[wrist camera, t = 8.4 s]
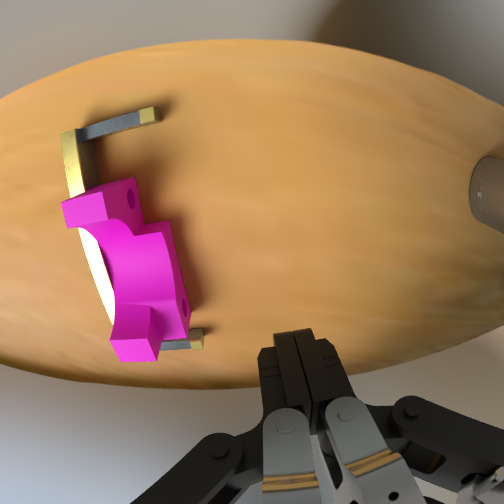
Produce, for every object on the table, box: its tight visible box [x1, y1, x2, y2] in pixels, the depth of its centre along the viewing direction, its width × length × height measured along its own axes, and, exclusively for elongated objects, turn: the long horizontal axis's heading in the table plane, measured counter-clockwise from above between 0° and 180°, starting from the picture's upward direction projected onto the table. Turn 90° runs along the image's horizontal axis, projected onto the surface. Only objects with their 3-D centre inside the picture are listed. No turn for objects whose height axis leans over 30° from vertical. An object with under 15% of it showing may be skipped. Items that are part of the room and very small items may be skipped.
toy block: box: [61, 177, 191, 362], centre depth 23 cm, size 15×6×8 cm, turn 6°
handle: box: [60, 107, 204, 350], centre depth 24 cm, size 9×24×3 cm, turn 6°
